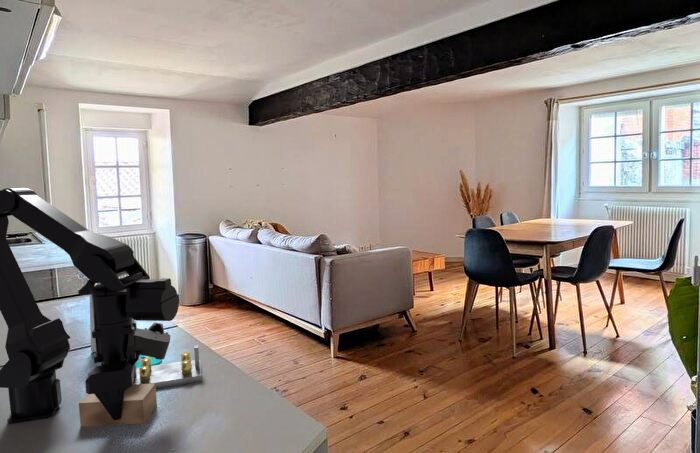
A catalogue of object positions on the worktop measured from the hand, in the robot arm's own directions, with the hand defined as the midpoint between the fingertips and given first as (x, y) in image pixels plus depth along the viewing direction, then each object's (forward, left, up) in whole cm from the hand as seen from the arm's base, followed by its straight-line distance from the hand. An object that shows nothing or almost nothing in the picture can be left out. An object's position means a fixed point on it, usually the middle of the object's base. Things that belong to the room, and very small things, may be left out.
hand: (120, 409), depth 77 cm
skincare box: (-5, +36, -1) cm, 36 cm away
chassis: (+7, +13, -1) cm, 15 cm away
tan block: (0, 0, -1) cm, 1 cm away
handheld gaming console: (0, +27, -2) cm, 27 cm away
